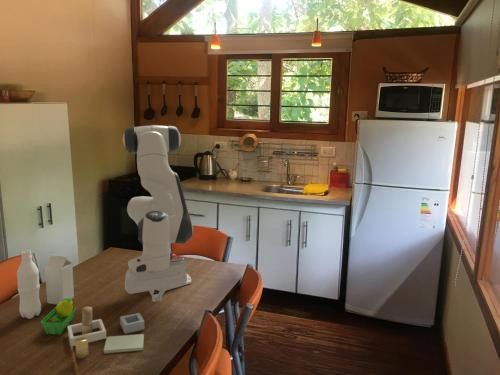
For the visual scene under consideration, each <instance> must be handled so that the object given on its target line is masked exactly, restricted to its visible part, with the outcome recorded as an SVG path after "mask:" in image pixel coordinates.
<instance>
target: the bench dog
mask: <svg viewBox="0 0 500 375" xmlns="http://www.w3.org/2000/svg"><path fill="white" fill-rule="evenodd" d="M88 356H89V342H88V339H87V338H86V337H81V338H78V339H76V341H75V358H77V359H85V358H87V357H88Z"/></svg>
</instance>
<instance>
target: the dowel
mask: <svg viewBox="0 0 500 375" xmlns="http://www.w3.org/2000/svg"><path fill="white" fill-rule="evenodd" d="M92 321H93V307H92V306H84V307H82V309H81V323H82V332H81V335H84V334H88V333H93V329H92Z"/></svg>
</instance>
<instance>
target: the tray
mask: <svg viewBox="0 0 500 375" xmlns="http://www.w3.org/2000/svg"><path fill="white" fill-rule="evenodd" d="M96 329H99V330H98V331H94V332H93V331H92V333H88V334H84V335H82V334H80V335H75V336H74V334H77V333H82V322H80V323H73V324H71V325H70V324H69V325H68V326H67V336H68V341H69V345H70V346H69V347H70V349H71V350H74V346H75V347H76V345H75V341H76V339H78V338H81V337H86V338H87V339H88V343H92V342H97V341H101V340H104V339H106V338H107V330H106V328H105V325H104V322H103V320H102V318H99V319H94V320H93V319H92V330H96Z"/></svg>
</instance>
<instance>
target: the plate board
mask: <svg viewBox="0 0 500 375" xmlns="http://www.w3.org/2000/svg"><path fill="white" fill-rule="evenodd" d="M144 339H145V334H144V333H140V334H123V335H115V336H114V335H112V336H111V335H110V336H106V340H105V341H104V342H105V343H104V347H103V354H110V353H111V354H113V353H114V354H115V353H122V352H124V353H125V352H134V351H143V350H144V344H145V343H144V342H145V341H144Z"/></svg>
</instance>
